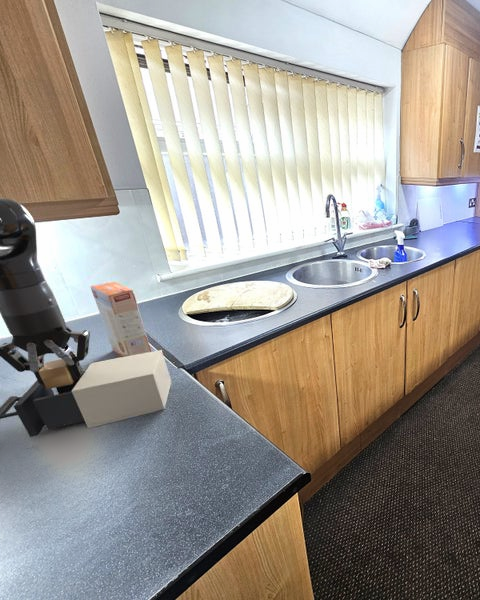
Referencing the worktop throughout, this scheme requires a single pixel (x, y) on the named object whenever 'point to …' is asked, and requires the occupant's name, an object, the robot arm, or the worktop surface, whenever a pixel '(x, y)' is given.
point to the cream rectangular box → (123, 388)
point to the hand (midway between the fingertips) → (63, 380)
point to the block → (55, 374)
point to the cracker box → (121, 319)
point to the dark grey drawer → (44, 408)
